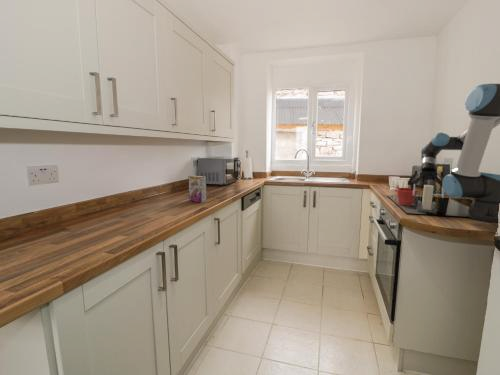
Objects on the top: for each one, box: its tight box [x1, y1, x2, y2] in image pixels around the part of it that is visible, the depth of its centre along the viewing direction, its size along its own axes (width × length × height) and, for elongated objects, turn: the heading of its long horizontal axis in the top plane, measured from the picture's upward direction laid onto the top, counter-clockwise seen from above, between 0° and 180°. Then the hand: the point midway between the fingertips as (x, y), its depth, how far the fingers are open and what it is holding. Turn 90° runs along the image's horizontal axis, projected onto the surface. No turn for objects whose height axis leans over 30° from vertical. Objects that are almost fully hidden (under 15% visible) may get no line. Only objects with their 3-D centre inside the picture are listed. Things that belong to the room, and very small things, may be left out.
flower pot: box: [396, 187, 418, 207], centre depth 168 cm, size 11×11×10 cm
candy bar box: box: [188, 174, 207, 204], centre depth 173 cm, size 11×5×16 cm, turn 58°
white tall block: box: [421, 184, 435, 210], centre depth 151 cm, size 4×6×13 cm, turn 151°
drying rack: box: [415, 200, 437, 214], centre depth 151 cm, size 9×8×5 cm
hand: (428, 195), depth 148 cm, fingers open, 13 cm apart
